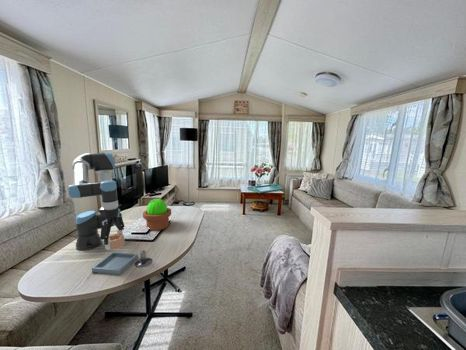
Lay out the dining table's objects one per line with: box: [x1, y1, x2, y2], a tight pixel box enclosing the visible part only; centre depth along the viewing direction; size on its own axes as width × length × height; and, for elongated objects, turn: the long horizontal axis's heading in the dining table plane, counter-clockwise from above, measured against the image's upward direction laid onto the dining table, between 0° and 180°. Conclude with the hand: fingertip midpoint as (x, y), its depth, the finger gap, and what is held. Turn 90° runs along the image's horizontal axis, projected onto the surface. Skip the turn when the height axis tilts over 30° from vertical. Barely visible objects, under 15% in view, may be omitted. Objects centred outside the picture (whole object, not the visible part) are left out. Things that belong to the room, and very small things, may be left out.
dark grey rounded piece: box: [134, 250, 153, 269], centre depth 125 cm, size 10×10×8 cm
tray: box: [91, 251, 139, 276], centre depth 123 cm, size 17×17×3 cm
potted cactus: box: [142, 197, 172, 231], centre depth 175 cm, size 22×22×25 cm
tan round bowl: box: [105, 233, 126, 251], centre depth 121 cm, size 10×10×5 cm
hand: (114, 244), depth 121 cm, fingers closed on tan round bowl, 10 cm apart
